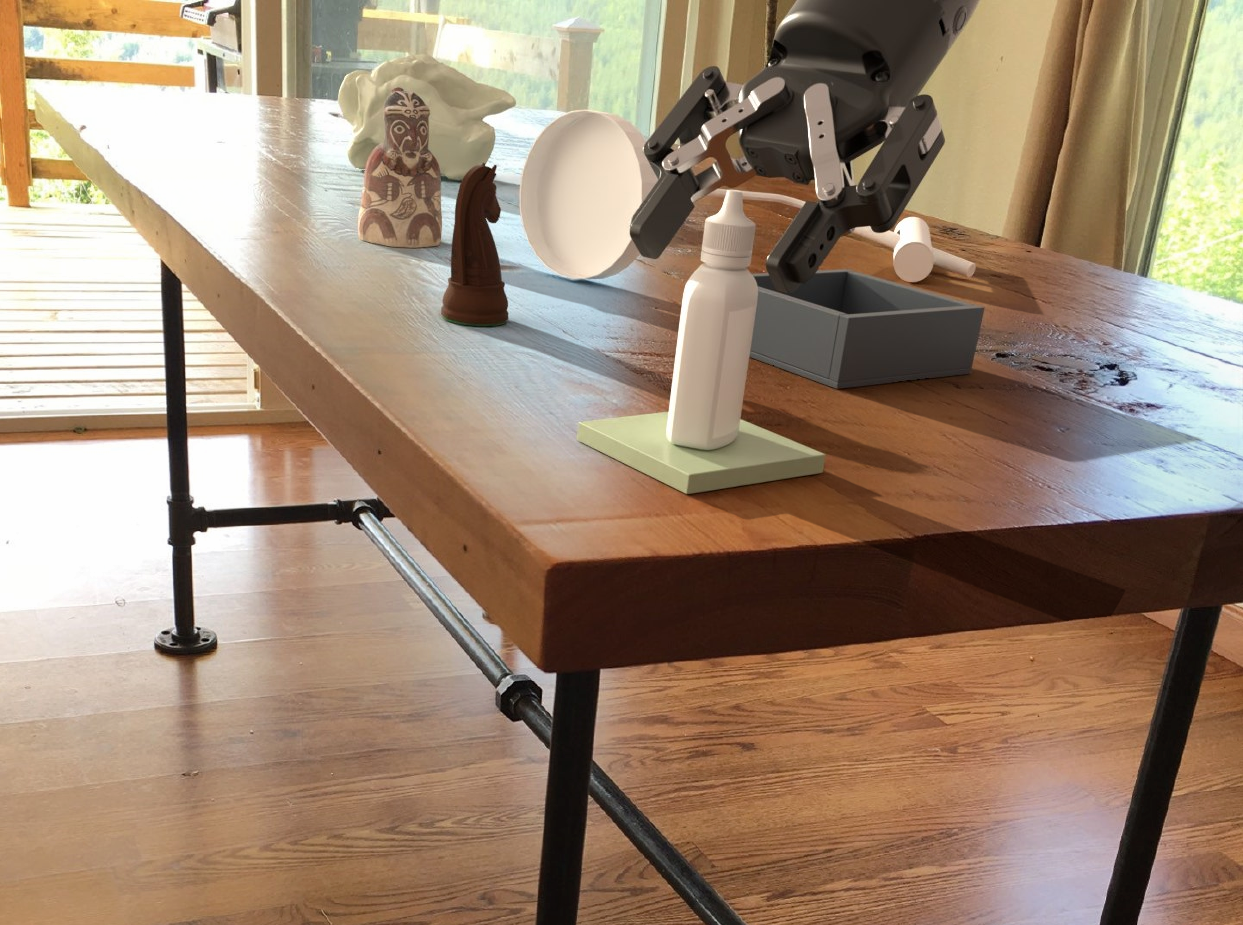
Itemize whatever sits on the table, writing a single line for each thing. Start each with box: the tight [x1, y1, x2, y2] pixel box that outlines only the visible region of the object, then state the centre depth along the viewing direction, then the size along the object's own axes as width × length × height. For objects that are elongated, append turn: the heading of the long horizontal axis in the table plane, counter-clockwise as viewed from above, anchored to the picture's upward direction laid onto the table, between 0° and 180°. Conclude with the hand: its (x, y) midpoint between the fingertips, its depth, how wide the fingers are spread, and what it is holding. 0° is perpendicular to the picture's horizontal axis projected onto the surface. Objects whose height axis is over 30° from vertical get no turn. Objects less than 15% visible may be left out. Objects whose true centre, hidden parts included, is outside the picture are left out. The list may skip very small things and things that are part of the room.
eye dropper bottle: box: [667, 189, 758, 450], centre depth 70 cm, size 4×6×12 cm
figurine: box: [357, 87, 443, 249], centre depth 119 cm, size 7×7×12 cm
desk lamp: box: [519, 108, 977, 283], centre depth 123 cm, size 12×22×45 cm
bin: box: [749, 268, 986, 390], centre depth 95 cm, size 13×13×4 cm
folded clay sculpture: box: [337, 53, 517, 181], centre depth 159 cm, size 18×13×16 cm
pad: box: [576, 411, 826, 495], centre depth 72 cm, size 9×9×1 cm
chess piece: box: [440, 163, 509, 327], centre depth 95 cm, size 5×5×10 cm
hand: (706, 263), depth 67 cm, fingers open, 8 cm apart
